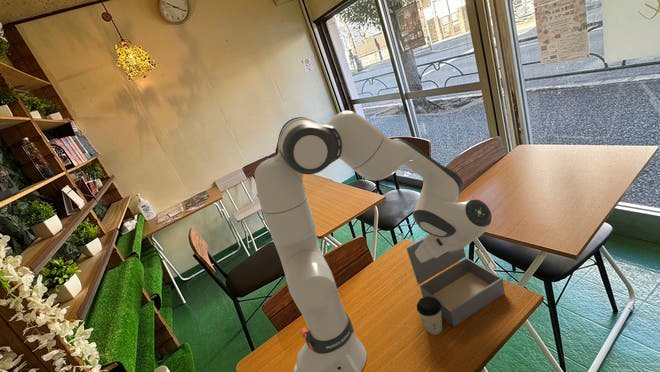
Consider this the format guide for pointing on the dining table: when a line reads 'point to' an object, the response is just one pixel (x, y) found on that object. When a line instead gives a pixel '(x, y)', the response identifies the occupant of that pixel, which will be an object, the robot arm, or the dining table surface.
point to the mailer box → (463, 290)
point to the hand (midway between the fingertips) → (437, 248)
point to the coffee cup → (430, 314)
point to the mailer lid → (431, 262)
